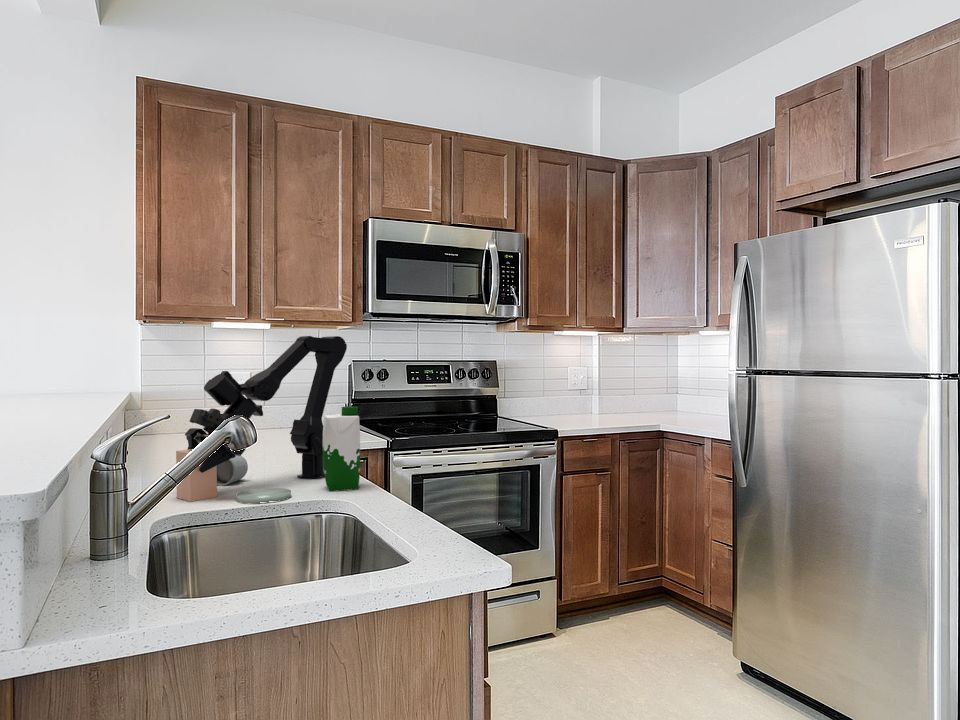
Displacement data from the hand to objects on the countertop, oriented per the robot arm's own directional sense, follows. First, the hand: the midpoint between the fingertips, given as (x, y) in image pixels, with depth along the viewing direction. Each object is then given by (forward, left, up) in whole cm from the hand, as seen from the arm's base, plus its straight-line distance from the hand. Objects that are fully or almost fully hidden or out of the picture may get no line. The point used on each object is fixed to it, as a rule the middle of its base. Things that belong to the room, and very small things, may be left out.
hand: (190, 469), depth 149 cm
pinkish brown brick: (-1, +1, -7) cm, 7 cm away
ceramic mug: (-18, -5, -7) cm, 20 cm away
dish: (-4, +17, -7) cm, 18 cm away
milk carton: (-19, +29, -7) cm, 35 cm away
